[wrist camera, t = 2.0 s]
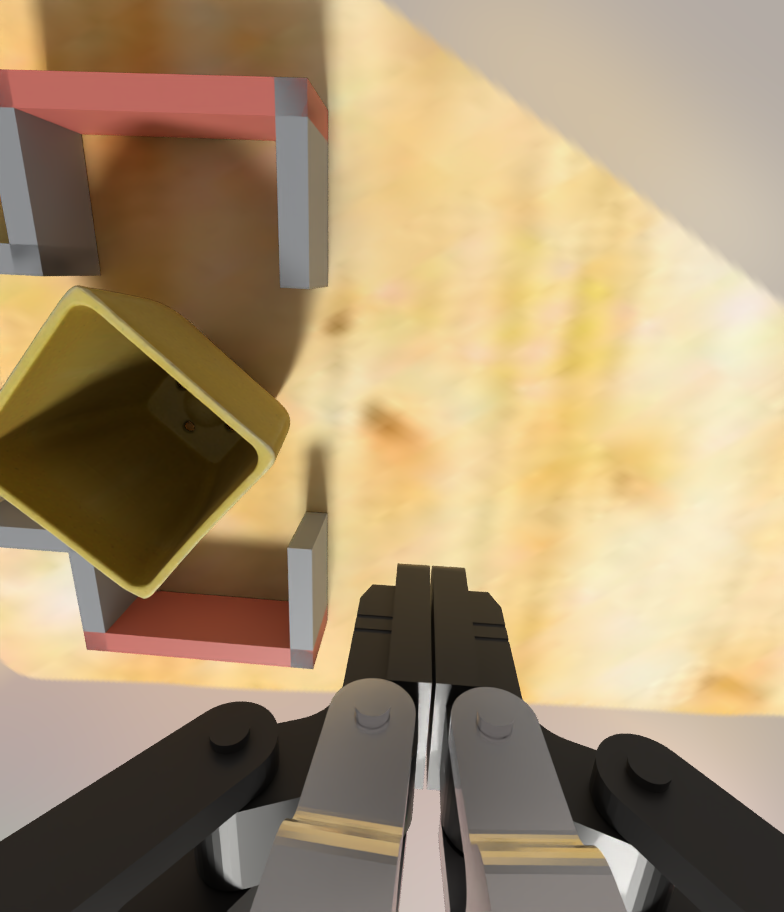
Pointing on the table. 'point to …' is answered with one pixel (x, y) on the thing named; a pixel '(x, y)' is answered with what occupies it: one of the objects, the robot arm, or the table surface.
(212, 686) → the table surface
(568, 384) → the table surface
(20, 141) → the box
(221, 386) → the flower pot
